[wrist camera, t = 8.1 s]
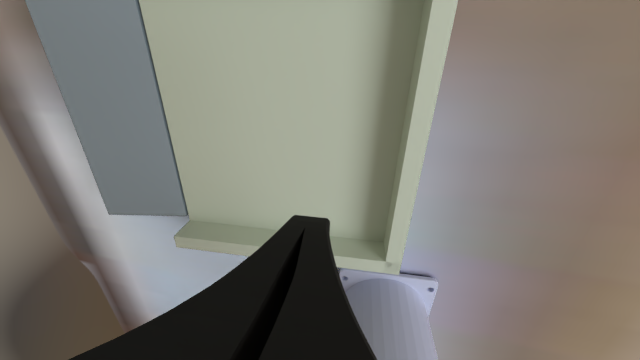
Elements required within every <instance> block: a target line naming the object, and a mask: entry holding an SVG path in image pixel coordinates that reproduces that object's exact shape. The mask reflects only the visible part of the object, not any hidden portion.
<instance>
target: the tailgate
mask: <svg viewBox="0 0 640 360" xmlns="http://www.w3.org/2000/svg"><path fill="white" fill-rule="evenodd" d="M25 2H26V4H27V7H28V9H29V12H30V14H31V17H32V19H33V22H34V25H35V27H36V30H37V32H38V35H39V37H40V40H41V42H42V45H43V48H44V50H45V53H46V55H47V58H48V60H49V63H50V65H51V68H52V71H53V73H54V76H55V78H56V81H57V83H58V86H59V88H60V91H61V94H62V96H63V99H64V101H65V104H66V106H67V109H68V111H69V114H70V116H71V119H72V122H73V124H74V127H75V129H76V132H77V134H78V137H79V139H80V142H81V145H82V147H83V150H84V152H85V155H86V157H87V160H88V162H89V165H90V168H91V170H92V173H93V175H94V178H95V180H96V183H97V185H98V188H99V191H100V193H101V196H102V198H103V201H104V203H105V206H106V208H107V211H108V214H109V215H156V216H187V215H188V210H187V206H186V201H185V197H184V193H183V188H182V184H181V180H180V176H179V171H178V167H177V163H176V158H175V154H174V150H173V145H172V141H171V137H170V132H169V128H168V124H167V120H166V115H165V111H164V107H163V102H162V98H161V94H160V89H159V85H158V81H157V76H156V72H155V68H154V64H153V59H152V55H151V51H150V46H149V42H148V38H147V33H146V29H145V25H144V20H143V16H142V12H141V8H140V3H139V0H25Z"/></svg>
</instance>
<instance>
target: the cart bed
mask: <svg viewBox="0 0 640 360" xmlns="http://www.w3.org/2000/svg"><path fill="white" fill-rule="evenodd" d="M139 3H140V8H141V12H142V16H143V20H144V25H145V29H146V33H147V38H148V42H149V46H150V51H151V55H152V59H153V64H154V68H155V72H156V76H157V81H158V85H159V89H160V94H161V98H162V102H163V107H164V111H165V115H166V120H167V124H168V128H169V132H170V137H171V141H172V145H173V150H174V154H175V158H176V163H177V167H178V171H179V176H180V180H181V184H182V188H183V193H184V197H185V201H186V206H187V210H188V214H189V219H190V221H189V222H188V223H187V224H186V225H185V226H184V227H183V228H182V229H181V230H180V231H179V232H178V233H177V234H176V235H175V236H174V239H175V243H176V246H177V247H180V248H188V249H196V250H204V251H212V252H219V253H227V254H235V255H243V256H251V255H252V254H253V253H254V252H255V251H257V250H258V249H259V248H260V247H261V246H262V245H263V244H264V243H265V242H266V241H268V240H269V239H270V238H271V237H272V236H273V235H274V234H275V233H276V232H277V231H278V230H279V229H280V228H281V227H282V226H283V225H284V224H285V223H286V222H287V221H288V220H289V219H290V218H291V217H292V216H294V215H301V216H310V217H320V218H328V220H329V221H330V241H331V247H332V251H333V255H334V259H335V263H336V267H339V268H347V269H355V270H363V271H371V272H379V273H387V274H395V275H399V272H400V268H401V263H402V258H403V254H404V249H405V244H406V240H407V235H408V230H409V226H410V221H411V217H412V212H413V207H414V203H415V198H416V193H417V189H418V184H419V179H420V175H421V170H422V165H423V161H424V156H425V151H426V147H427V142H428V138H429V133H430V128H431V124H432V119H433V114H434V110H435V105H436V100H437V96H438V91H439V86H440V82H441V77H442V73H443V68H444V63H445V59H446V54H447V49H448V45H449V40H450V35H451V31H452V26H453V21H454V17H455V12H456V7H457V3H458V0H139Z"/></svg>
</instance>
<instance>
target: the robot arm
mask: <svg viewBox="0 0 640 360" xmlns="http://www.w3.org/2000/svg"><path fill="white" fill-rule="evenodd" d="M343 276H346V277H343ZM430 287H431V288H430ZM437 288H438V282H437V280H436V279H435V278H432V277H424V276H416V275H408V274H400V273H399V275H395V274H387V273H379V272H371V271H363V270H355V269H347V268H341V269H340V272H339V273H338V270H337V267H336V263H335V259H334V255H333V251H332V247H331V241H330V221H329V220H328V218H320V217H310V216H301V215H294V216H292V217H291V218H290V219H289V220H288V221H287V222H286V223H285V224H284V225H283V226H282V227H281V228H280V229H279V230H278V231H277V232H276V233H275V234H274V235H273V236H272V237H271V238H270V239H269V240H268V241H266V242H265V243H264V244H263V245H262V246H261V247H260V248H259V249H258V250H257V251H255V252H254V253H253V254H252V255H251V256H249V257H248V258H247V259H246V260H244V261H243V262H242V263H241V264H240V265H238V266H237V267H236V268H234V269H233V270H232V271H230V272H229V273H228V274H226V275H225V276H224V277H222V278H221V279H219V280H218V281H217V282H215V283H214V284H212V285H211V286H209V287H208V288H206V289H205V290H203V291H201V292H200V293H198V294H196V295H195V296H193V297H191V298H190V299H188V300H186V301H185V302H183V303H181V304H180V305H178V306H176V307H175V308H173V309H171V310H170V311H168V312H166V313H164V314H162V315H160V316H158V317H157V318H155V319H153V320H151V321H149V322H147V323H145V324H143V325H141V326H139V327H137V328H135V329H133V330H131V331H129V332H127V333H125V334H124V335H121V336H119V337H117V338H115V339H113V340H111V341H109V342H107V343H104V344H102V345H100V346H98V347H95V348H93V349H91V350H89V351H87V352H84V353H82V354H80V355H78V356H75V357H73V358H71V359H69V360H438V356H437V352H436V348H435V344H434V340H433V336H432V332H431V328H430V324H429V320H428V317H429V314H430V310H431V307H432V304H433V301H434V298H435V294H436V291H437Z"/></svg>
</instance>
